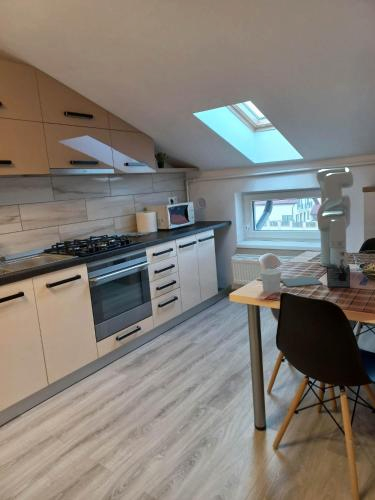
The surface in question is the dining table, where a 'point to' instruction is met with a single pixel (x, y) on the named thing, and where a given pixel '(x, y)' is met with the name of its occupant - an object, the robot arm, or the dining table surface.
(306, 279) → the mat
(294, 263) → the dining table surface
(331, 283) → the small box
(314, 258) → the dining table surface
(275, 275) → the cup
